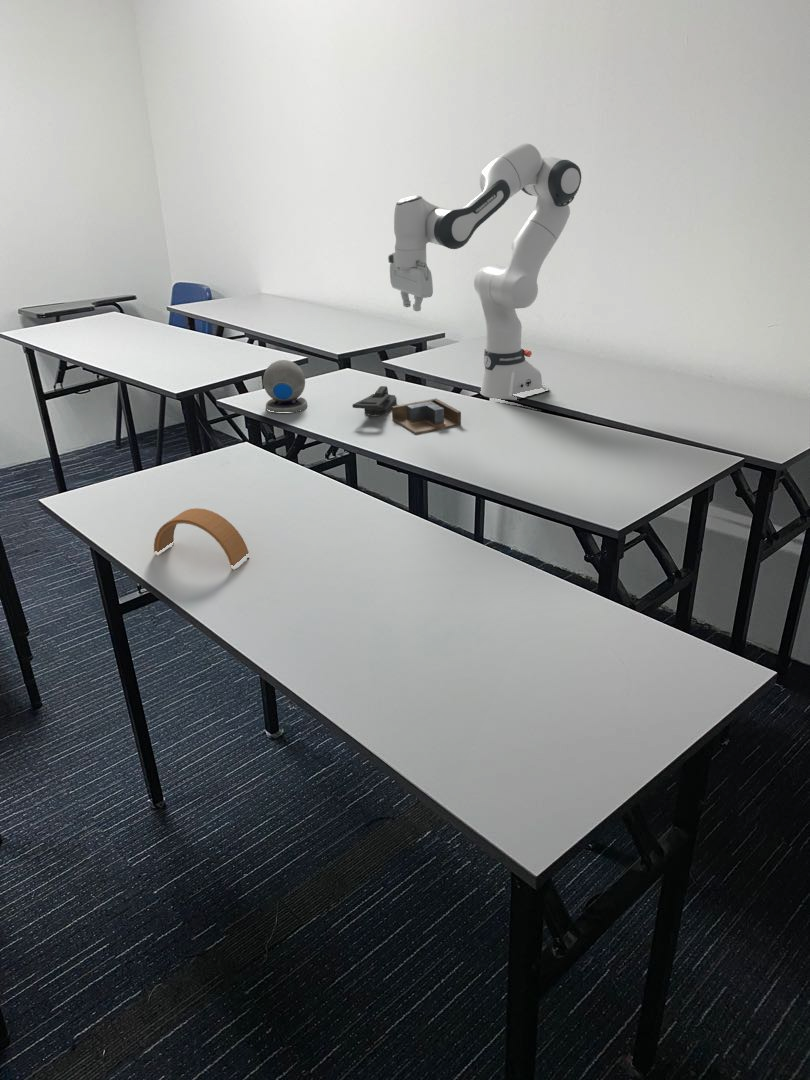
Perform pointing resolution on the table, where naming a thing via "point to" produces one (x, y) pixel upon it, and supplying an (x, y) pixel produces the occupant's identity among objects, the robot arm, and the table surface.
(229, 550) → the arch
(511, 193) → the robot arm
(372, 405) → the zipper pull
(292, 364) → the webcam
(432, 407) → the angle bracket
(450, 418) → the corner arena
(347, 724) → the table surface
